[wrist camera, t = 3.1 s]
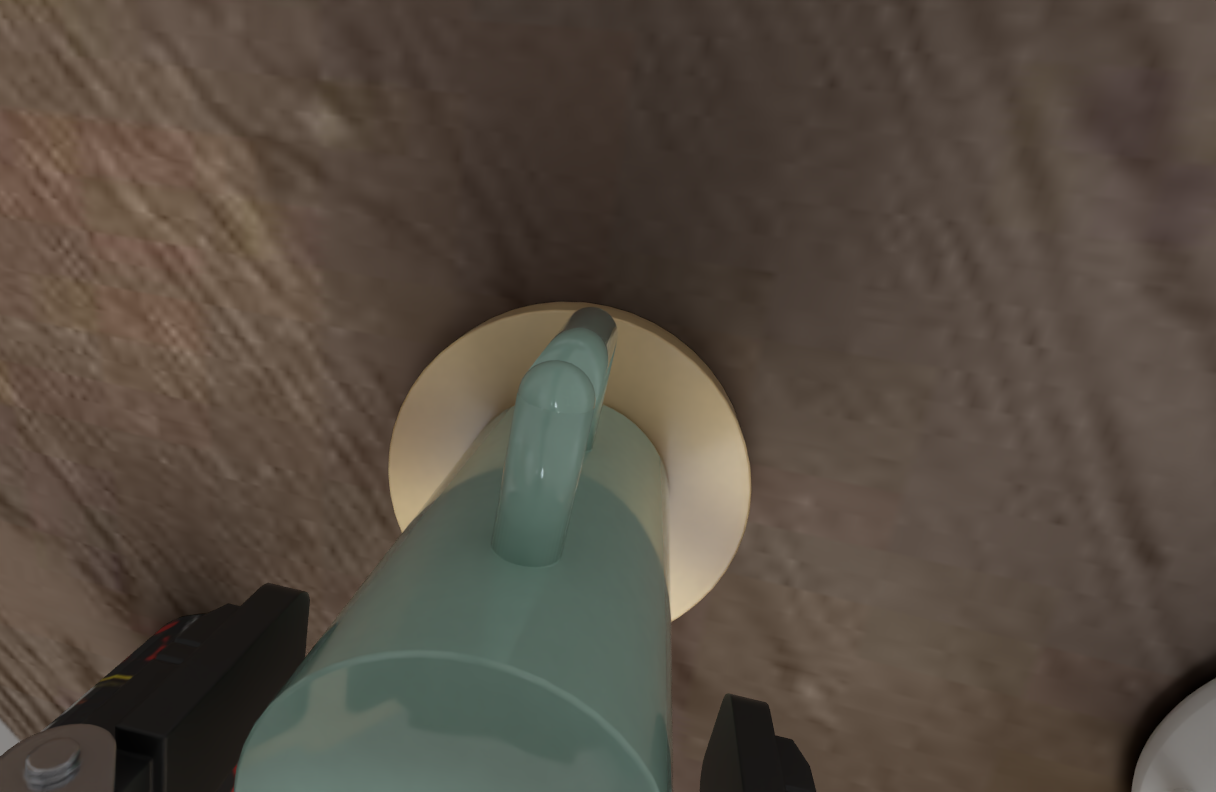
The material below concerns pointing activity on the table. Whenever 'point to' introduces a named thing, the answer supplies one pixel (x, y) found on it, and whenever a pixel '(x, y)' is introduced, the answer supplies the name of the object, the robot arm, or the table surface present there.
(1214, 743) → the coffeepot
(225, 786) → the deodorant
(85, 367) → the table surface
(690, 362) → the stand
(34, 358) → the table surface
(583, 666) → the jug
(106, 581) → the table surface
